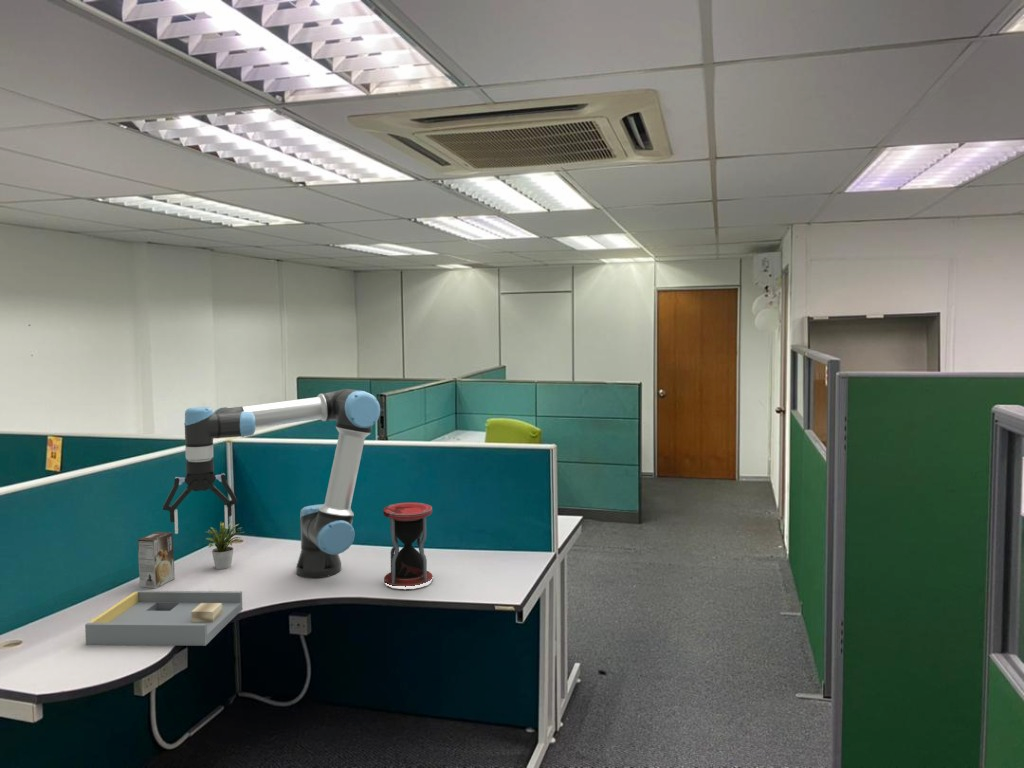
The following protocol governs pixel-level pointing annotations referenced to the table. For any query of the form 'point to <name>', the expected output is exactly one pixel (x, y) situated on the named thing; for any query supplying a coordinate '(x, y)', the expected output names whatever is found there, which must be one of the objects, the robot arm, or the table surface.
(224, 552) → the house plant
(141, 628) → the box
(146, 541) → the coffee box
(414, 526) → the hourglass
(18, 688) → the table surface
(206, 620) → the block
